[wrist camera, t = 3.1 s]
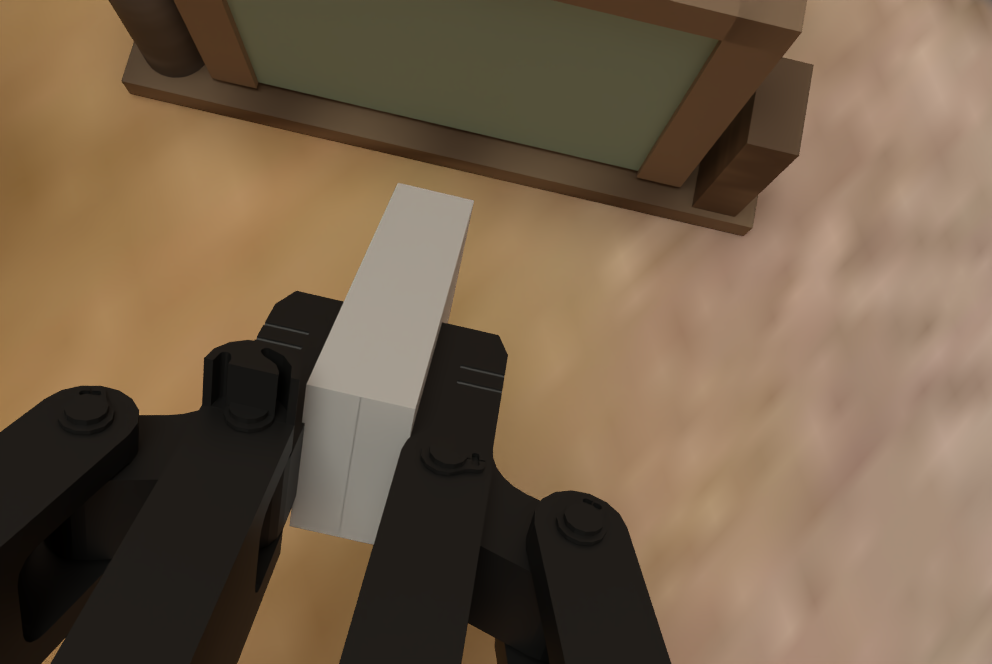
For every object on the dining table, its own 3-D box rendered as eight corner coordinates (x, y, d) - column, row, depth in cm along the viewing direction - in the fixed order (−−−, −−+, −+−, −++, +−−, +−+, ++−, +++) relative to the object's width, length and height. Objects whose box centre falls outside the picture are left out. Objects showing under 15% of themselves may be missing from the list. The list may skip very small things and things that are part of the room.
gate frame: (130, 93, 34) (-44, -153, 22) (157, 7, 35) (5, -280, 22) (743, 235, 35) (924, 78, 22) (758, 148, 36) (941, -52, 23)
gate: (211, 78, 33) (107, -134, 22) (227, 27, 34) (131, -207, 23) (679, 187, 34) (801, 32, 23) (689, 136, 34) (813, -41, 23)
